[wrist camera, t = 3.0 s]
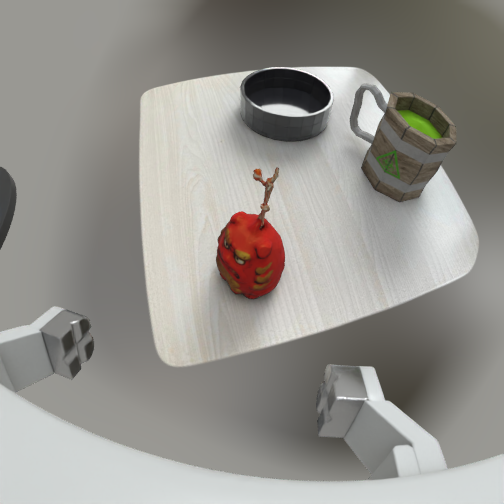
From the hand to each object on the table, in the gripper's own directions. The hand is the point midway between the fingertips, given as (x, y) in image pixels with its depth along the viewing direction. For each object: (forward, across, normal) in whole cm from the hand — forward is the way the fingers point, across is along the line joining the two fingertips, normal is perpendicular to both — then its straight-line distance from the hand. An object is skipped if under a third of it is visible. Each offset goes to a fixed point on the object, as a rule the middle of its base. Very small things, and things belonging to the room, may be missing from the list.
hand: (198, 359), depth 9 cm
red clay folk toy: (+25, 0, +7) cm, 26 cm away
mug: (+39, -17, -7) cm, 43 cm away
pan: (+45, -1, -13) cm, 47 cm away
